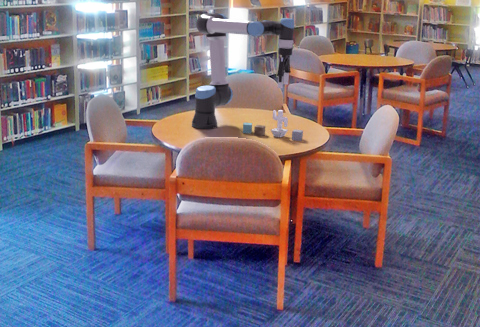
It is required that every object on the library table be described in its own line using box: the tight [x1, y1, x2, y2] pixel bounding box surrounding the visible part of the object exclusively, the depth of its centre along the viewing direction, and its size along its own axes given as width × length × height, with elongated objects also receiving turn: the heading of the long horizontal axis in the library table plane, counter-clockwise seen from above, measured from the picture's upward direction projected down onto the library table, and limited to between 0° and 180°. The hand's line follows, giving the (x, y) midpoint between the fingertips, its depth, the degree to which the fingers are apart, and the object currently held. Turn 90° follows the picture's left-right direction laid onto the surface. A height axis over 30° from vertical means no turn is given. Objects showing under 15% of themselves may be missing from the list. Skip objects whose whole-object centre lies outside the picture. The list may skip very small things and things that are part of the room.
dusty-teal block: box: [242, 122, 253, 134], centre depth 339 cm, size 5×5×5 cm
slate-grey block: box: [291, 129, 304, 142], centre depth 328 cm, size 5×5×5 cm
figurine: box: [270, 109, 289, 138], centre depth 332 cm, size 7×9×15 cm
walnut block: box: [253, 124, 266, 137], centre depth 335 cm, size 5×5×5 cm
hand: (282, 86), depth 326 cm, fingers open, 13 cm apart
